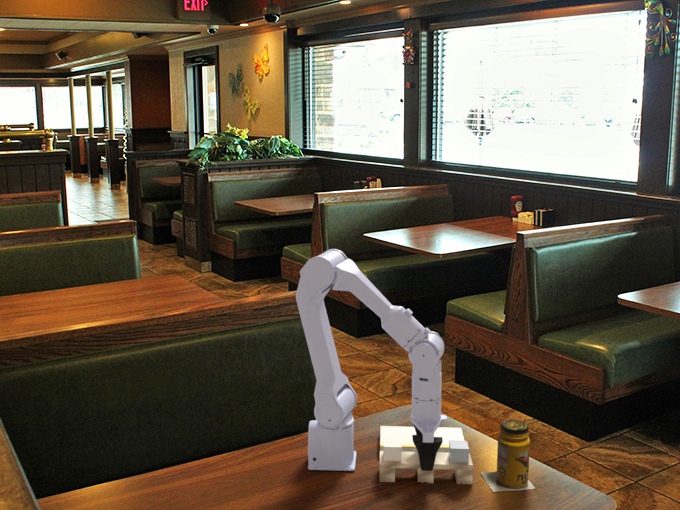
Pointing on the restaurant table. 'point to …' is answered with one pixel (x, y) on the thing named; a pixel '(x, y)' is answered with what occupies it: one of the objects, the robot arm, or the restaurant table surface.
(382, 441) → the dock
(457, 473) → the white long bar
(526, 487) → the condiment
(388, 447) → the block
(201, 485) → the restaurant table surface
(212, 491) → the restaurant table surface
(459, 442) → the light grey square block
